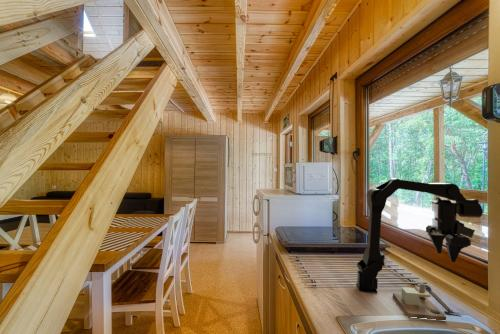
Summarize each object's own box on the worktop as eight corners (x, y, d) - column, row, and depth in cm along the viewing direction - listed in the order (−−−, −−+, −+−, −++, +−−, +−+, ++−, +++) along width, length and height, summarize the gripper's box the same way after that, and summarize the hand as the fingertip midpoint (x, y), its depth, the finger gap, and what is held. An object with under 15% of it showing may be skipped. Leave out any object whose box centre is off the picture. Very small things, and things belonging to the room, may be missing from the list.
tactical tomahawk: (469, 321, 85) (470, 317, 85) (446, 316, 86) (446, 313, 86) (440, 290, 105) (440, 287, 105) (421, 286, 107) (421, 283, 107)
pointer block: (406, 304, 89) (406, 292, 89) (401, 298, 93) (401, 287, 93) (432, 306, 88) (432, 295, 88) (426, 300, 92) (427, 289, 92)
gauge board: (408, 317, 84) (408, 297, 84) (392, 296, 98) (393, 279, 98) (446, 321, 82) (446, 301, 82) (425, 299, 96) (425, 282, 96)
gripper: (489, 222, 88) (488, 268, 88) (455, 212, 107) (454, 251, 107) (452, 221, 90) (451, 266, 90) (425, 211, 109) (424, 249, 109)
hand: (445, 257), depth 99 cm, fingers open, 9 cm apart
